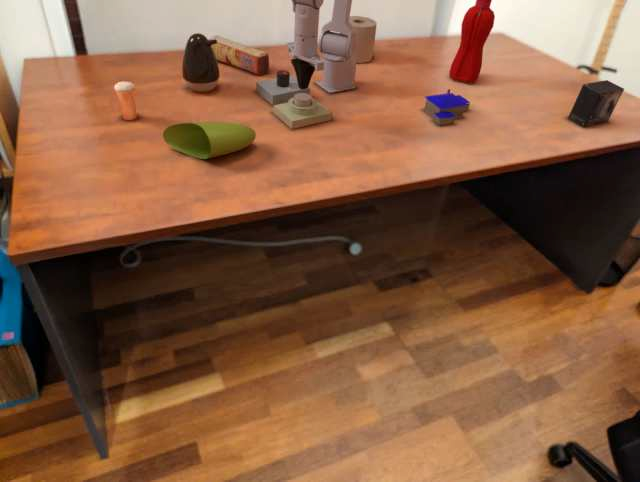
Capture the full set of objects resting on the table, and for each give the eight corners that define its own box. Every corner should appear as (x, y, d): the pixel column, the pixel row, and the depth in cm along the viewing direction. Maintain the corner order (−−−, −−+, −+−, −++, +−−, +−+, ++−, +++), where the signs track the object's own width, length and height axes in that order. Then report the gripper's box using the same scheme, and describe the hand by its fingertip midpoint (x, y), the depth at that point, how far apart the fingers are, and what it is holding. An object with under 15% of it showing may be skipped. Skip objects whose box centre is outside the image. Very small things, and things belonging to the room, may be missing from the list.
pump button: (305, 98, 133) (305, 91, 131) (314, 105, 130) (315, 98, 129) (290, 102, 131) (290, 94, 129) (299, 109, 128) (299, 101, 126)
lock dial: (274, 83, 140) (274, 70, 138) (285, 81, 142) (285, 68, 140) (280, 88, 138) (280, 74, 136) (291, 86, 140) (292, 72, 137)
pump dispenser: (213, 98, 137) (209, 42, 127) (178, 92, 138) (171, 37, 128) (226, 84, 145) (223, 30, 135) (192, 79, 146) (187, 25, 136)
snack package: (271, 71, 155) (271, 49, 150) (257, 77, 150) (257, 55, 146) (220, 53, 163) (219, 32, 158) (206, 59, 158) (204, 37, 154)
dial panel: (292, 84, 148) (292, 74, 146) (309, 98, 142) (310, 87, 140) (256, 91, 142) (256, 81, 140) (272, 105, 136) (272, 94, 134)
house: (480, 120, 139) (486, 101, 135) (438, 126, 134) (443, 107, 130) (457, 103, 146) (462, 84, 143) (416, 108, 141) (420, 89, 138)
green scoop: (177, 133, 102) (265, 123, 111) (161, 119, 111) (243, 111, 121) (180, 169, 106) (265, 156, 115) (165, 152, 115) (244, 142, 124)
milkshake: (145, 114, 127) (138, 76, 121) (132, 123, 123) (125, 84, 117) (129, 110, 128) (122, 73, 122) (116, 119, 124) (108, 80, 118)
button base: (311, 105, 138) (311, 91, 136) (330, 120, 132) (331, 106, 130) (273, 112, 133) (273, 98, 130) (291, 129, 127) (292, 114, 124)
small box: (584, 128, 139) (600, 93, 133) (566, 118, 144) (581, 83, 137) (609, 122, 143) (626, 88, 137) (590, 113, 148) (606, 79, 141)
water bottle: (445, 81, 158) (466, -3, 142) (451, 70, 166) (471, -11, 150) (474, 88, 156) (498, 3, 140) (479, 76, 164) (502, -5, 148)
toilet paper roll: (339, 48, 175) (342, 14, 167) (373, 52, 174) (378, 18, 166) (335, 60, 165) (339, 24, 158) (371, 65, 165) (376, 29, 157)
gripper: (276, 26, 121) (276, 79, 130) (307, 45, 112) (304, 101, 121) (301, 23, 124) (299, 75, 133) (333, 41, 115) (328, 96, 124)
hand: (303, 88), depth 127 cm, fingers closed
